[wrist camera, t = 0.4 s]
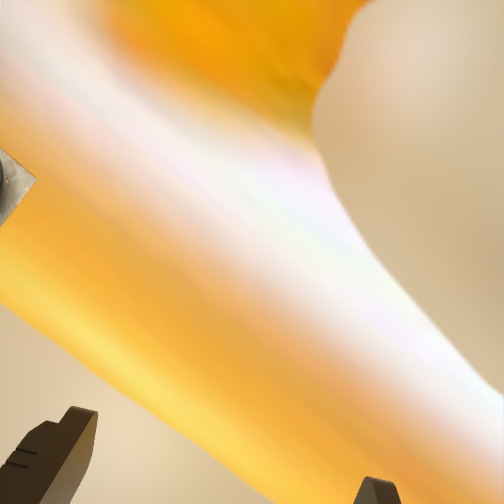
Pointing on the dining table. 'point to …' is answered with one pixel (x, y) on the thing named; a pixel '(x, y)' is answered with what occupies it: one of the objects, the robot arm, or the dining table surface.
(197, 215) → the dining table surface
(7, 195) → the condiment
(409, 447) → the dining table surface
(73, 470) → the robot arm
